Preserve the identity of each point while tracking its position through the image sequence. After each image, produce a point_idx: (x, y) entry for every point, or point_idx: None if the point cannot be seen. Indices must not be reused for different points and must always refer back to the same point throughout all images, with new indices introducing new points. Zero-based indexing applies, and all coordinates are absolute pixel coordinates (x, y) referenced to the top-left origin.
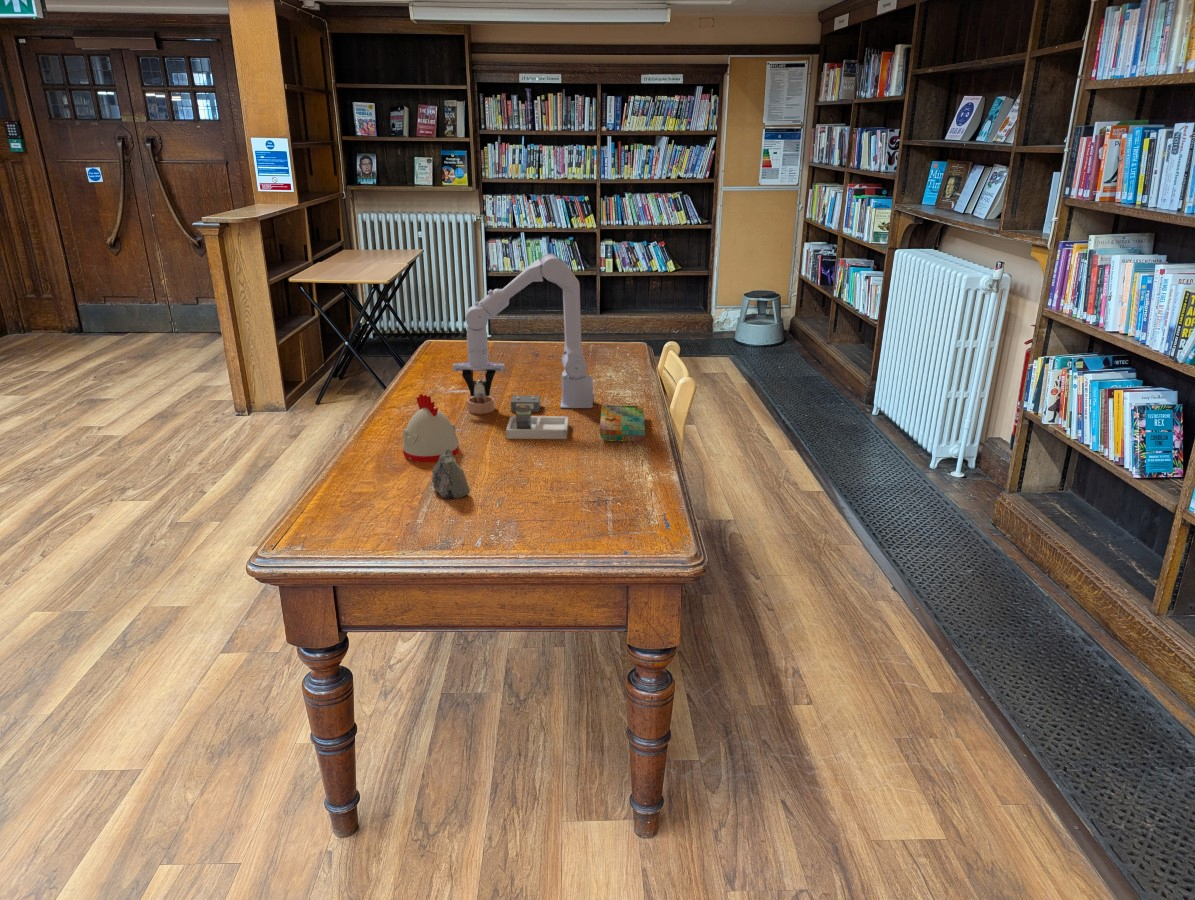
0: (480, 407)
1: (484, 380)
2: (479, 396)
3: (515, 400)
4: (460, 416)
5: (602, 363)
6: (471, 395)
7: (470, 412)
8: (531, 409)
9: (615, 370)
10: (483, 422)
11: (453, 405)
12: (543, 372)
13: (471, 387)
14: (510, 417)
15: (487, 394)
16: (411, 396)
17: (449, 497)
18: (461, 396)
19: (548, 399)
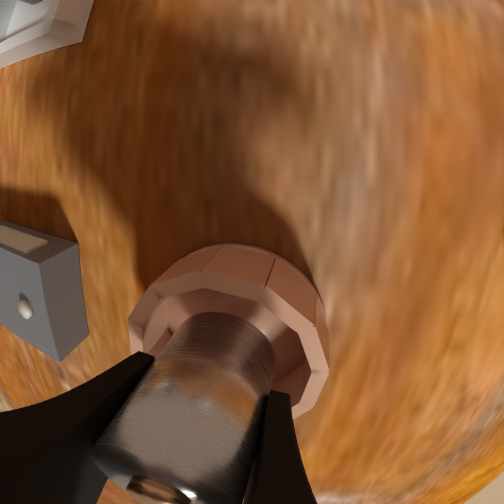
0: (227, 262)
1: (121, 484)
2: (207, 349)
3: (28, 283)
4: (389, 219)
5: None
6: (283, 396)
7: (311, 283)
8: (9, 227)
9: None
10: (224, 60)
11: (384, 407)
12: (105, 490)
13: (266, 453)
14: (53, 13)
15: (138, 359)
16: (476, 468)
17: None
18: (320, 474)
19: (18, 344)
